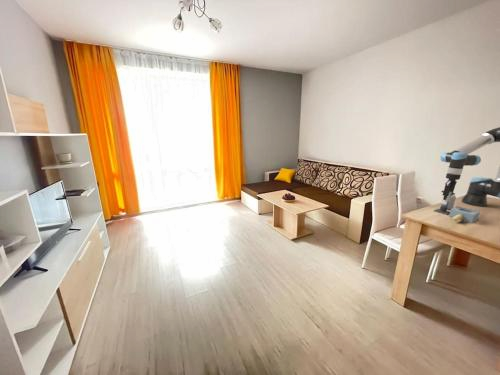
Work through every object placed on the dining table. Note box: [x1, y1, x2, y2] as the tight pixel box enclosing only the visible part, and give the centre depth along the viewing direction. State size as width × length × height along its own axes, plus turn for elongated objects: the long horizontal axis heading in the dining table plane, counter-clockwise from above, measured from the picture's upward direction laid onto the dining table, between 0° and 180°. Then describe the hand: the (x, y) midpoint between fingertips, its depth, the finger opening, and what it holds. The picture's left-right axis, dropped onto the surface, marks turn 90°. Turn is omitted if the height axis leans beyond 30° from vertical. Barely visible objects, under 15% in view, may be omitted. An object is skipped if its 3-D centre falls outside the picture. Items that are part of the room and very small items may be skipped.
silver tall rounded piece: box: [439, 190, 456, 211], centre depth 156 cm, size 4×8×15 cm, turn 29°
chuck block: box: [448, 205, 481, 224], centre depth 145 cm, size 22×12×6 cm, turn 119°
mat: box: [433, 208, 450, 216], centre depth 158 cm, size 8×8×1 cm
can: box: [439, 194, 457, 211], centre depth 164 cm, size 8×8×12 cm
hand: (445, 203), depth 156 cm, fingers closed on silver tall rounded piece, 4 cm apart
